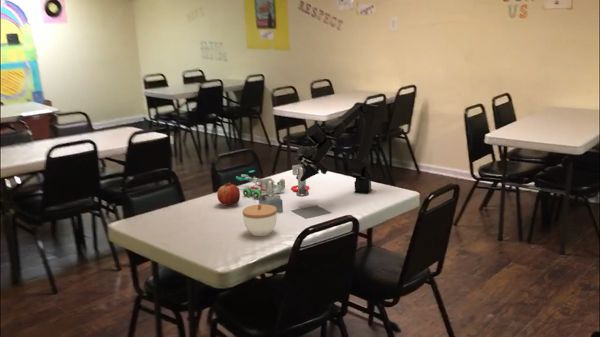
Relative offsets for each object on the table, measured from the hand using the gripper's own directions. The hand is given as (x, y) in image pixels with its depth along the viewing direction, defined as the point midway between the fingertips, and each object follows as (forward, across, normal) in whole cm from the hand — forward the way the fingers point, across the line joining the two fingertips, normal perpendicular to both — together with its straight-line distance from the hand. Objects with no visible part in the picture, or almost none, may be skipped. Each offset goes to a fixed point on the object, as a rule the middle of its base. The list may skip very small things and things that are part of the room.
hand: (298, 180), depth 241 cm
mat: (+8, +6, +10) cm, 14 cm away
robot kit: (+12, -34, +6) cm, 36 cm away
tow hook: (0, -25, +18) cm, 31 cm away
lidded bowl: (+27, +17, -9) cm, 33 cm away
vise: (+16, -6, +1) cm, 17 cm away
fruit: (+25, -22, -7) cm, 34 cm away
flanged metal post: (+4, 0, +6) cm, 7 cm away
